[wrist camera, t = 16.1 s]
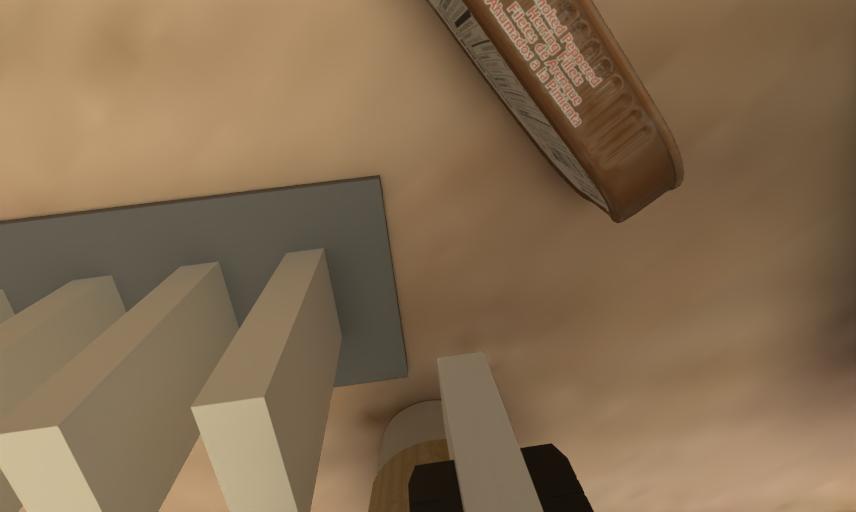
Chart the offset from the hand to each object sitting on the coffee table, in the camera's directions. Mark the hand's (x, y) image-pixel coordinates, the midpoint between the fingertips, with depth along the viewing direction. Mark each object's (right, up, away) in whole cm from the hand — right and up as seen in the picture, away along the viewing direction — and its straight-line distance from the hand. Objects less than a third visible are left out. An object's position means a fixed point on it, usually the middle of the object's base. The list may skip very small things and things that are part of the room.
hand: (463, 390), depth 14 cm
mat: (-16, +1, +8) cm, 18 cm away
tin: (+2, +13, +6) cm, 15 cm away
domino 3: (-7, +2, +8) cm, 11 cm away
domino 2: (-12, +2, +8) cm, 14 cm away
